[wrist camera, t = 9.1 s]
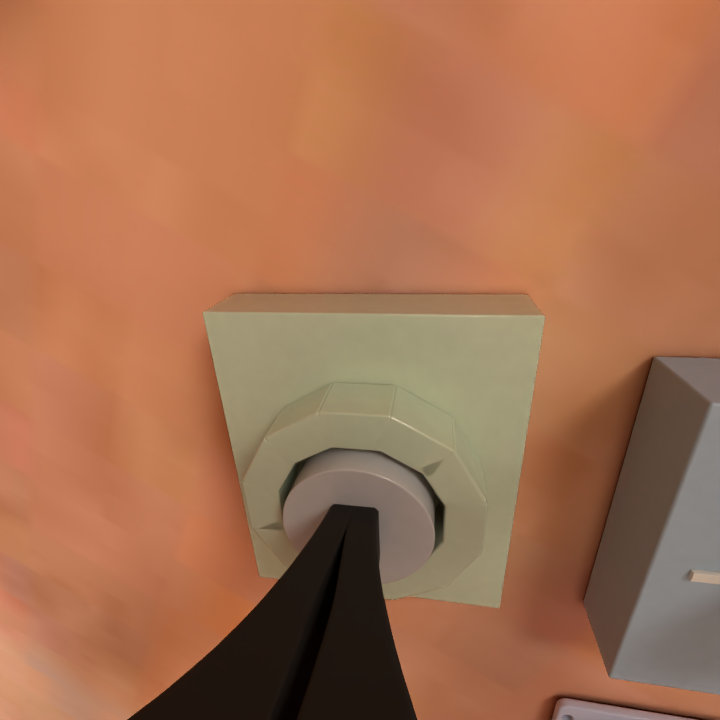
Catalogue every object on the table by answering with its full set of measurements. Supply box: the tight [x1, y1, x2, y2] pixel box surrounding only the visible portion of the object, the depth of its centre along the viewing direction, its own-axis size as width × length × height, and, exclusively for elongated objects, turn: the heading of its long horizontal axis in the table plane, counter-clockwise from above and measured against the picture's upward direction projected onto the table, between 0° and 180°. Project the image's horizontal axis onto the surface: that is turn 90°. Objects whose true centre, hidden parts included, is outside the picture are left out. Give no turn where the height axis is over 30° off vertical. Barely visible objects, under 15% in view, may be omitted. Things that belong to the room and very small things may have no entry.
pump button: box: [283, 447, 435, 584], centre depth 13 cm, size 5×5×2 cm
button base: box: [203, 294, 545, 608], centre depth 14 cm, size 12×10×4 cm
